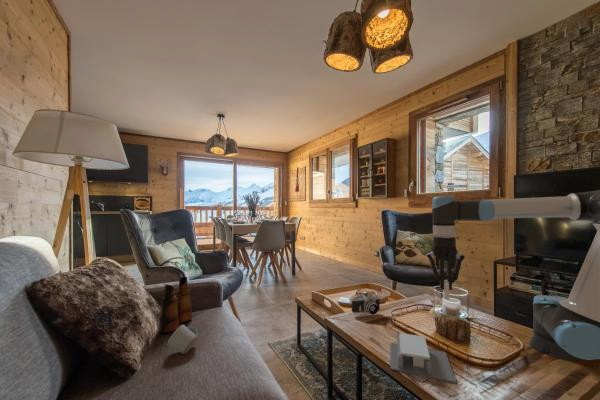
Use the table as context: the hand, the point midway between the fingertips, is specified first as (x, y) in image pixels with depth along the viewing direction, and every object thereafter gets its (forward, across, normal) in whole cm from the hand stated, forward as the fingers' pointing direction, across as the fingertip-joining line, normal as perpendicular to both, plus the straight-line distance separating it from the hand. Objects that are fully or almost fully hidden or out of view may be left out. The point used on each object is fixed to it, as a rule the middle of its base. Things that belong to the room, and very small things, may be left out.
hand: (446, 297), depth 98 cm
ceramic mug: (+19, +98, +27) cm, 103 cm away
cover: (+16, +18, +7) cm, 25 cm away
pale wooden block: (+21, +12, +7) cm, 25 cm away
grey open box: (+21, +11, +7) cm, 25 cm away
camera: (+21, +31, -29) cm, 48 cm away
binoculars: (+18, +118, +10) cm, 119 cm away
